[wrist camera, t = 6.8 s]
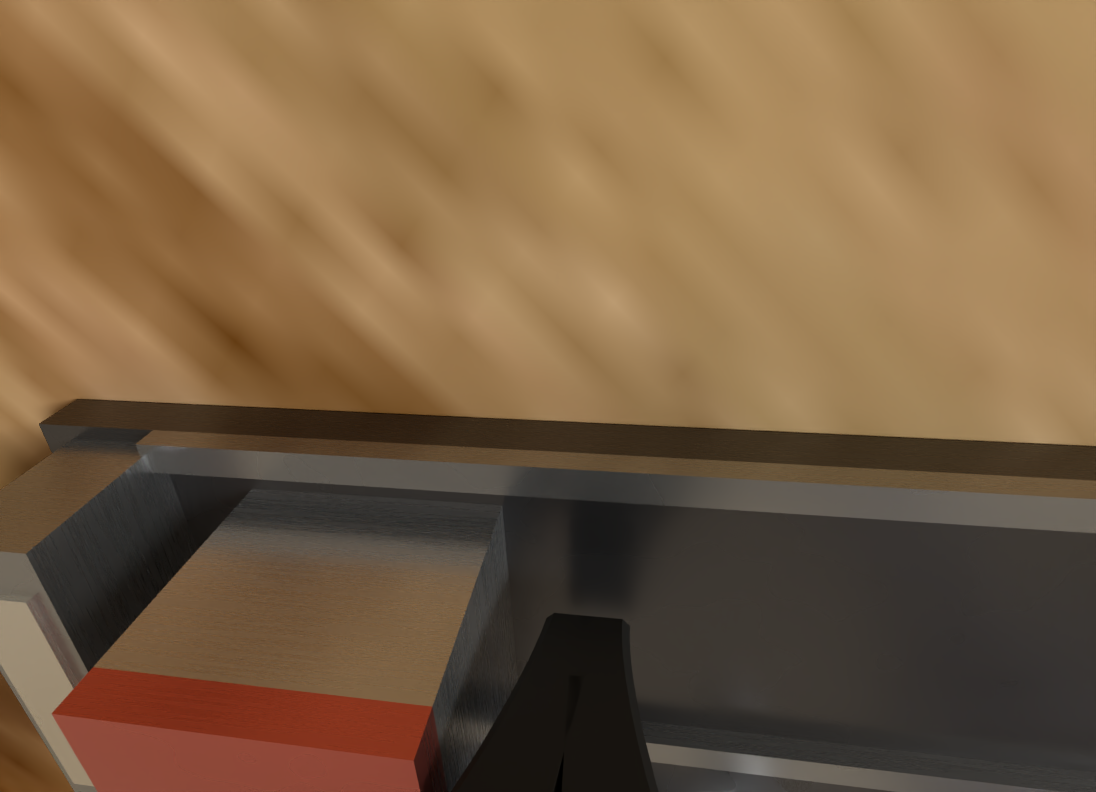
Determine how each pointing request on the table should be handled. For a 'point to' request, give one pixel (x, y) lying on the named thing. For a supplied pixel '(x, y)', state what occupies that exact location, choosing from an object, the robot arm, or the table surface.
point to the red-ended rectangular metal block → (309, 654)
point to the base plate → (642, 576)
